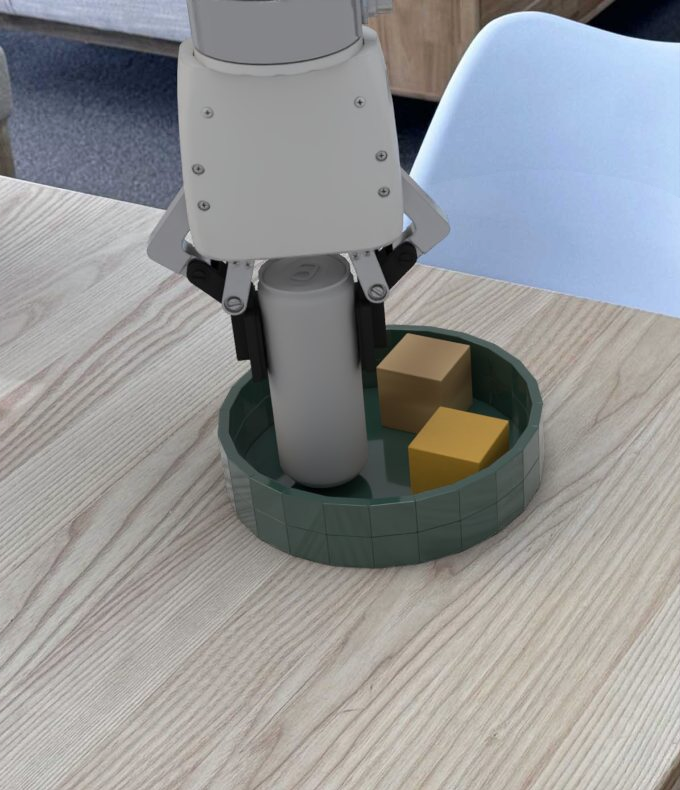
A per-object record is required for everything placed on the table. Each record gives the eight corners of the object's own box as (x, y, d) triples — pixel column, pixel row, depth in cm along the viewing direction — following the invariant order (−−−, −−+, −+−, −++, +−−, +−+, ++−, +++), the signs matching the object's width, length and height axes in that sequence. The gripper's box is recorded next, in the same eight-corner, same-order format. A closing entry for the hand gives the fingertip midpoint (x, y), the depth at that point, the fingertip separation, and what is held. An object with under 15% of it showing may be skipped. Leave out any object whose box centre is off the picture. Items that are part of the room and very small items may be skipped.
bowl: (166, 531, 73) (152, 462, 71) (323, 367, 87) (316, 303, 84) (467, 610, 68) (463, 537, 65) (586, 421, 81) (586, 355, 79)
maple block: (381, 426, 80) (375, 367, 78) (411, 390, 83) (407, 332, 81) (444, 440, 79) (441, 380, 76) (473, 403, 82) (470, 345, 80)
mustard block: (412, 508, 74) (407, 446, 71) (443, 466, 77) (439, 405, 74) (482, 525, 72) (479, 462, 70) (511, 481, 75) (509, 420, 73)
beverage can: (267, 486, 74) (239, 288, 68) (299, 435, 78) (276, 243, 71) (353, 498, 73) (334, 298, 67) (382, 446, 77) (366, 252, 70)
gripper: (457, -21, 66) (469, 313, 76) (88, 1, 64) (151, 341, 74) (476, 31, 60) (487, 388, 70) (69, 57, 58) (140, 420, 68)
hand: (313, 360), depth 72 cm, fingers closed on beverage can, 4 cm apart
